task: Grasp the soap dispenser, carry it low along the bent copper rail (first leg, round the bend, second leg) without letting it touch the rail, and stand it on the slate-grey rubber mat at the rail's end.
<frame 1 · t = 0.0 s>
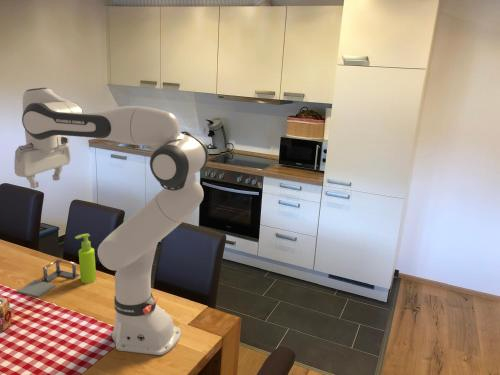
hand: (45, 183, 133), 48 cm above the table, fingers open, 8 cm apart
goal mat: (36, 289, 161), on the table
soap dispenser: (87, 280, 170), on the table
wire: (60, 279, 169), on the table
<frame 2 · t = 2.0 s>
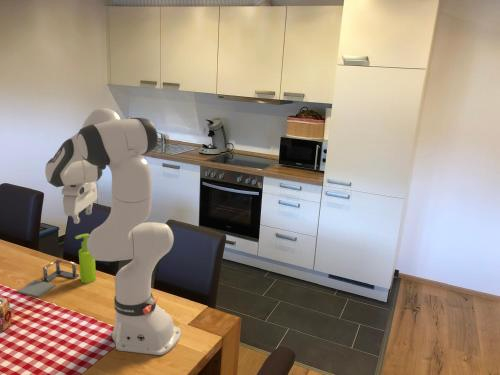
hand: (83, 218, 162), 27 cm above the table, fingers open, 8 cm apart
nothing on the table moved.
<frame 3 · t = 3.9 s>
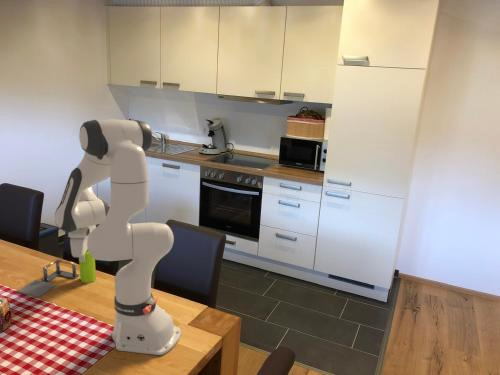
hand: (85, 257, 167), 10 cm above the table, fingers closed on soap dispenser, 6 cm apart
soap dispenser: (87, 280, 170), on the table, touching gripper
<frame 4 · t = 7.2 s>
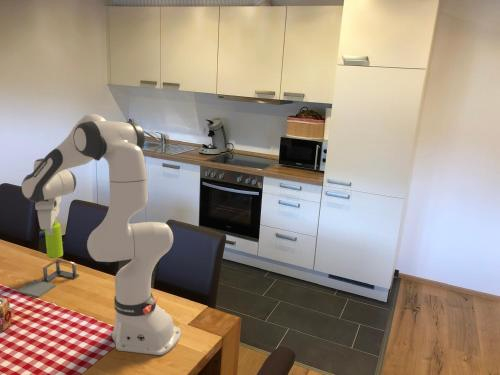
hand: (51, 231, 166), 20 cm above the table, fingers closed on soap dispenser, 6 cm apart
soap dispenser: (54, 256, 169), point 9 cm above the table, touching gripper
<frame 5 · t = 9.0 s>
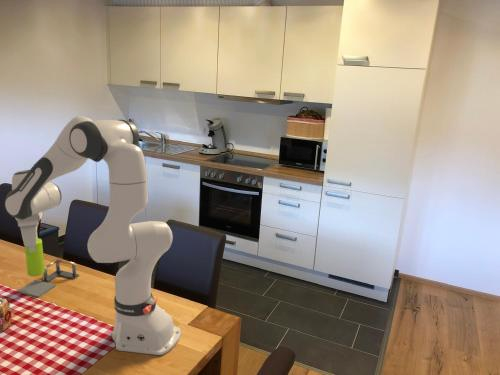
hand: (32, 247, 156), 18 cm above the table, fingers closed on soap dispenser, 6 cm apart
soap dispenser: (35, 273, 159), point 7 cm above the table, touching gripper
when the fingers open (12 cm above the table, at t = 10.4 s): soap dispenser stays where it is, resting on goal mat.
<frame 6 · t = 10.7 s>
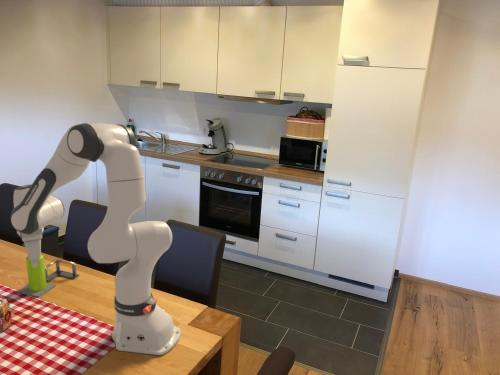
hand: (33, 261, 158), 12 cm above the table, fingers open, 8 cm apart
soap dispenser: (37, 288, 161), resting on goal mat
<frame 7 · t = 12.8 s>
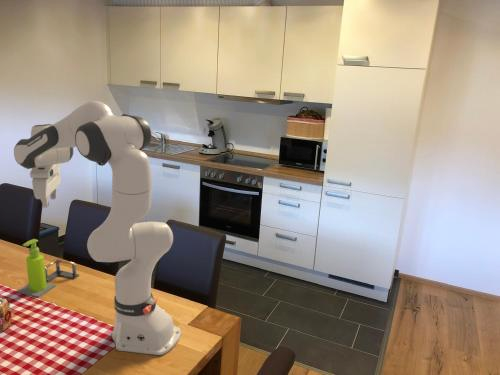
hand: (49, 202, 158), 33 cm above the table, fingers open, 8 cm apart
nothing on the table moved.
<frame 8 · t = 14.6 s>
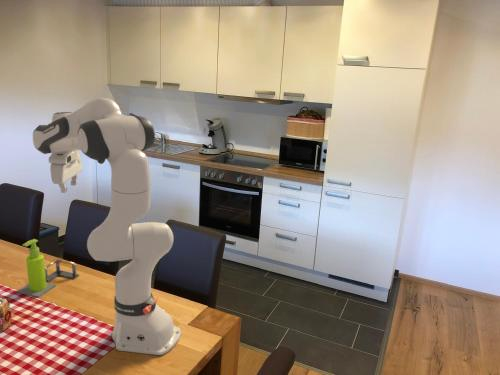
hand: (69, 188, 164), 37 cm above the table, fingers open, 8 cm apart
nothing on the table moved.
at the end: soap dispenser inside the target area on the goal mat (0.4 cm from its centre), point 0.4 cm above the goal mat's base; soap dispenser tilted 0°; soap dispenser touching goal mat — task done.
